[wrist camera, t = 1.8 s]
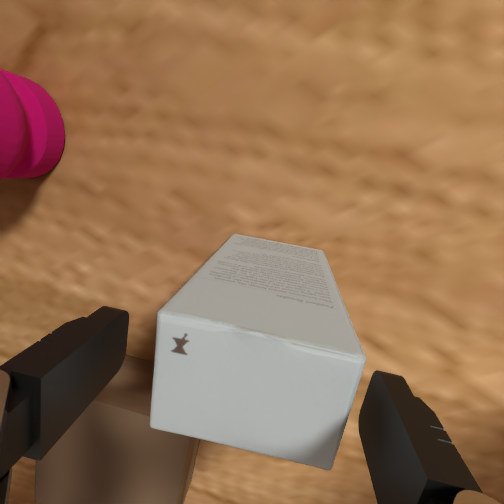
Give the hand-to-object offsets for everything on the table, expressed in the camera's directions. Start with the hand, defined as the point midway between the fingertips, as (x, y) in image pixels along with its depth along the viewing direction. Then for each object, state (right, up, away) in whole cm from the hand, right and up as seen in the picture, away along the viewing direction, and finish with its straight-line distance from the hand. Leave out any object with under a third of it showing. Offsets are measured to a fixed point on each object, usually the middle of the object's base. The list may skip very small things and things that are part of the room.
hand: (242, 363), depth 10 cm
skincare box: (+2, +2, +11) cm, 11 cm away
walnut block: (-9, -9, +15) cm, 20 cm away
